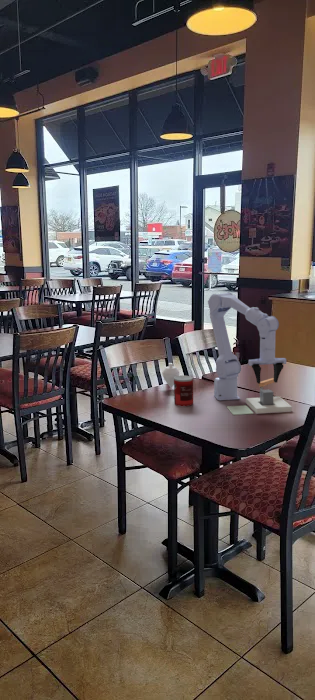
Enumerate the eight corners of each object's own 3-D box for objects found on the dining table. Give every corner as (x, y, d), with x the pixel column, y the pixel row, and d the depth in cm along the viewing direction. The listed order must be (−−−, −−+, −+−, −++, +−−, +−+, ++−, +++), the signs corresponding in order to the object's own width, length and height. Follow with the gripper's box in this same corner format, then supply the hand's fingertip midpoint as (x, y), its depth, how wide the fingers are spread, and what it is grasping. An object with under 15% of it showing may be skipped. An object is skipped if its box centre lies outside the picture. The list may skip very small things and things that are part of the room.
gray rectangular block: (263, 410, 200) (263, 392, 199) (260, 406, 204) (260, 389, 203) (273, 409, 201) (273, 392, 199) (269, 406, 205) (270, 389, 203)
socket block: (256, 413, 196) (256, 396, 195) (245, 402, 210) (246, 386, 208) (291, 411, 197) (292, 393, 196) (279, 401, 211) (279, 384, 210)
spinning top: (178, 391, 229) (177, 365, 226) (161, 391, 230) (160, 365, 228) (180, 386, 236) (180, 361, 234) (164, 386, 237) (163, 361, 235)
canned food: (180, 399, 216) (180, 374, 214) (197, 402, 212) (196, 376, 209) (170, 404, 210) (169, 378, 208) (187, 407, 205) (186, 381, 203)
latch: (262, 386, 206) (262, 383, 205) (257, 385, 207) (257, 382, 207) (278, 381, 213) (278, 378, 213) (273, 380, 215) (273, 377, 215)
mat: (233, 415, 195) (233, 414, 195) (226, 407, 205) (226, 406, 205) (253, 413, 196) (253, 413, 196) (246, 406, 206) (246, 405, 206)
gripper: (252, 351, 193) (251, 386, 196) (289, 349, 195) (288, 384, 197) (246, 347, 200) (246, 381, 203) (283, 345, 201) (282, 379, 204)
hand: (267, 382), depth 200 cm, fingers open, 6 cm apart
